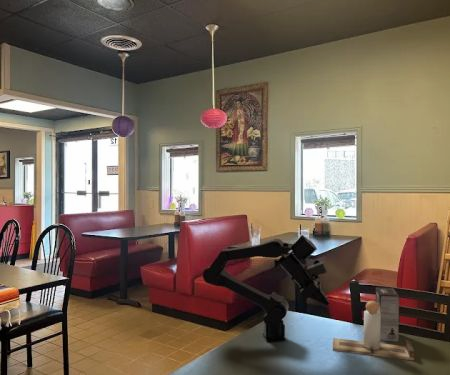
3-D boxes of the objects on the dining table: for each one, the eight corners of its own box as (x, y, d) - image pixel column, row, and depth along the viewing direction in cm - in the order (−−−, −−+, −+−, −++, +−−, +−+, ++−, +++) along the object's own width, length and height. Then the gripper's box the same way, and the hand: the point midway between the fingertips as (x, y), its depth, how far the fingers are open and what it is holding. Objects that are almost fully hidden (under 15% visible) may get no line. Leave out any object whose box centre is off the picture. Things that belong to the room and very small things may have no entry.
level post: (364, 348, 124) (364, 302, 123) (363, 342, 129) (363, 297, 128) (380, 350, 122) (381, 304, 122) (379, 343, 127) (379, 299, 127)
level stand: (332, 350, 125) (332, 342, 125) (333, 339, 133) (333, 331, 133) (414, 360, 118) (414, 351, 118) (409, 348, 126) (409, 340, 126)
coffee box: (374, 330, 142) (375, 286, 141) (393, 331, 140) (393, 287, 140) (379, 340, 133) (379, 294, 132) (399, 342, 131) (399, 295, 131)
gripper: (310, 258, 122) (347, 296, 119) (314, 248, 139) (345, 281, 137) (285, 281, 124) (320, 319, 121) (291, 269, 142) (322, 301, 139)
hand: (328, 304), depth 129 cm, fingers closed
